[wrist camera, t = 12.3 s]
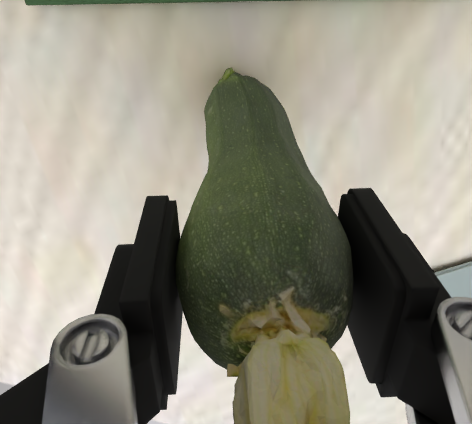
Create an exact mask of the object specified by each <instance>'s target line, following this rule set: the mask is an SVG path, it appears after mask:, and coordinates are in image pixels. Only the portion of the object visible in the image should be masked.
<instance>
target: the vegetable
mask: <svg viewBox="0 0 472 424" xmlns="http://www.w3.org/2000/svg"><path fill="white" fill-rule="evenodd" d="M204 113H205V121H206V142H207V150H208V155H209V165H208V172H207V174H206V176H205V178H204V180H203V182H202V184H201V186H200V189H199V191H198V193H197V196H196V198H195V200H194V202H193V205H192V207H191V211H190V214H189V216H188V219H187V221H186V224H185V226H184V229H183V232H182V235H181V238H180V241H179V244H178V250H177V256H176V264H175V273H176V285H177V290H178V294H179V298H180V302H181V305H182V309H183V312H184V315H185V318H186V321H187V324H188V327H189V329H190V332H191V334H192V336H193V338H194V340H195V341H196V342H197V344H198V345H199V346H200V347H201V349H202V350H203V351H204V352H205V353H206V354H207V355H208V356H209V357H210V358H211V359H212V360H213V361H214V362H215V363H216V364H218V365H220V366H221V367H223V368H225V369H227V377H238V378H237V381H236V383H235V396H234V401H233V418H234V424H350V410H349V403H348V396H347V389H346V383H345V377H344V371H343V368H342V365H341V363H340V361H339V359H338V358H337V356H336V354H335V352H333V351H332V350H331V348H332V347H333V346H334V345H335V343H336V342H337V341H338V340H339V339H340V338H341V336H342V335H343V332H344V330H345V328H346V326H347V324H348V322H349V317H350V313H351V309H352V303H353V268H352V256H351V246H350V244H349V241H348V238H347V235H346V233H345V231H344V229H343V227H342V224H341V222H340V220H339V218H338V217H337V215H336V214H335V212H334V211H333V210H332V208H331V207H330V205H329V203H328V201H327V199H326V197H325V195H324V192H323V190H322V188H321V187H320V185H319V184H318V183H317V181H316V180H315V179H314V177H313V176H312V174H311V173H310V171H309V169H308V167H307V165H306V162H305V160H304V158H303V155H302V153H301V151H300V149H299V147H298V145H297V142H296V139H295V137H294V134H293V131H292V128H291V125H290V122H289V119H288V117H287V114H286V112H285V110H284V108H283V106H282V105H281V103H280V102H279V101H278V99H277V98H276V96H275V95H274V94H273V92H272V91H271V90H270V89H269V88H268V87H267V86H265V85H264V84H262V83H261V82H259V81H258V80H257V79H255V78H253V77H250V76H243V75H240V74H238V73H236V72H235V71H233V69H232V68H228V69H227V70H226V71H225V73H224V75H223V78H222V79H220V80H219V82H218V84H217V85H216V86H215V87H214V88H213V90H212V92H211V94H210V96H209V98H208V100H207V103H206V106H205V110H204Z"/></svg>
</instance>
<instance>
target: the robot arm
mask: <svg viewBox="0 0 472 424" xmlns="http://www.w3.org/2000/svg"><path fill="white" fill-rule="evenodd" d="M338 218H339V220H340V222H341V224H342V227H343V229H344V231H345V233H346V235H347V238H348V241H349V244H350V246H351V256H352V268H353V303H352V309H351V313H350V317H349V322H348V324H347V325H348V328H349V331H350V334H351V336H352V339H353V342H354V344H355V347H356V350H357V353H358V355H359V358H360V361H361V363H362V366H363V369H364V372H365V374H366V377H367V379H368V381H369V383H376V386H377V388H378V391H379V394H380V396H381V397H396V396H397V398H398V399H400V400H402V401H403V402H405V404H406V415H407V420H408V424H472V298H468V297H451V296H450V295H449V293H448V292H447V290H446V289H445V288H444V286H443V285H442V283H441V282H440V280H439V279H438V278H437V276H436V275H435V273H434V272H433V270H432V269H431V268H430V266H429V265H428V263H427V262H426V261H425V259H424V258H423V256H422V255H421V253H420V252H419V251H418V249H417V248H416V246H415V245H414V243H413V242H412V241H411V239H410V238H409V237H408V236H407V235H406V234H404V233H402V232H401V230H400V229H399V227H398V226H397V224H396V223H395V221H394V220H393V219H392V217H391V216H390V214H389V213H388V211H387V210H386V208H385V207H384V206H383V204H382V203H381V201H380V200H379V198H378V197H377V195H376V194H375V193H374V191H373V190H372V189H371V188H358V189H349V191H348V193H347V194H343V195H342V196H341V200H340V206H339V213H338ZM179 241H180V232H179V222H178V213H177V204H176V200H175V201H169V198H168V196H147V198H146V201H145V205H144V208H143V212H142V216H141V220H140V224H139V227H138V231H137V235H136V239H135V242H134V244H124V245H118V246H117V247H116V249H115V252H114V255H113V258H112V261H111V264H110V267H109V270H108V274H107V277H106V280H105V283H104V286H103V289H102V292H101V295H100V298H99V301H98V304H97V308H96V311H95V314H92V315H88V316H84V317H81V318H78V319H77V320H75V321H73V322H71V323H69V324H68V325H67V326H66V327H64V328H63V329H62V330H61V331H60V332H59V333H58V335H57V336H56V338H55V339H54V341H53V344H52V347H51V351H50V360H49V363H48V364H47V365H45V366H44V367H42V368H41V369H39V370H38V371H36V372H35V373H33V374H32V375H30V376H29V377H27V378H26V379H24V380H23V381H21V382H20V383H18V384H17V385H15V386H14V387H12V388H11V389H9V390H8V391H6V392H5V393H3V394H2V395H0V424H147V423H148V422H149V421H150V420H151V419H152V418H153V417H154V416H155V415H157V414H158V413H159V412H160V410H167V399H168V395H172V394H176V390H177V377H178V365H179V352H180V339H181V326H182V313H183V309H182V305H181V302H180V298H179V294H178V290H177V285H176V273H175V264H176V256H177V250H178V244H179Z"/></svg>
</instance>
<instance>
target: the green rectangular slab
mask: <svg viewBox="0 0 472 424" xmlns="http://www.w3.org/2000/svg"><path fill="white" fill-rule="evenodd" d="M238 1H293V0H25V3H26V5H73V4H128V3H183V2H238Z"/></svg>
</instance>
